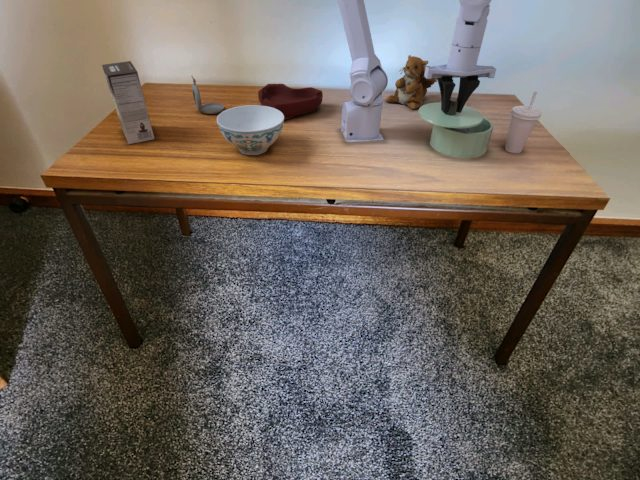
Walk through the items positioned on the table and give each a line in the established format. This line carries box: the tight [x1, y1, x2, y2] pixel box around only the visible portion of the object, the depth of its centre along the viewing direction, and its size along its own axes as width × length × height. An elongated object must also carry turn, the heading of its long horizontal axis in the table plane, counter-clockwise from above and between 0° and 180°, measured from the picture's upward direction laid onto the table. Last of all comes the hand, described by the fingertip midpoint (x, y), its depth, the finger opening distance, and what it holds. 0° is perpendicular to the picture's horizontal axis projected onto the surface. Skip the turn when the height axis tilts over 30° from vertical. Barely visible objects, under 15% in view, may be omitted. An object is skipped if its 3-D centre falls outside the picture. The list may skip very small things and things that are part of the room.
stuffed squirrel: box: [385, 54, 438, 111], centre depth 116 cm, size 10×14×13 cm
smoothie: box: [504, 91, 542, 154], centre depth 92 cm, size 6×6×14 cm
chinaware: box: [216, 104, 285, 156], centre depth 91 cm, size 15×15×8 cm
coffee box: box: [101, 60, 156, 145], centre depth 94 cm, size 9×6×16 cm
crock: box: [429, 116, 494, 159], centre depth 95 cm, size 13×13×6 cm
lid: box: [417, 96, 484, 128], centre depth 88 cm, size 14×14×4 cm
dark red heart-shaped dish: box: [257, 83, 323, 121], centre depth 110 cm, size 18×16×5 cm
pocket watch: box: [191, 75, 225, 115], centre depth 108 cm, size 8×8×10 cm
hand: (451, 111), depth 88 cm, fingers closed on lid, 2 cm apart
